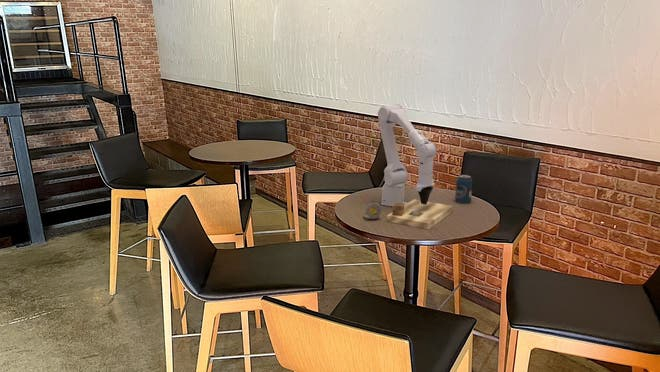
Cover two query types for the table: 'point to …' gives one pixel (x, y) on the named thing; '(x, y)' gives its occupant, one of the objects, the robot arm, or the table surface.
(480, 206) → the table surface
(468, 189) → the soda can
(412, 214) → the ball
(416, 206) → the deck
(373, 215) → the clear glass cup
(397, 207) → the walnut cube
